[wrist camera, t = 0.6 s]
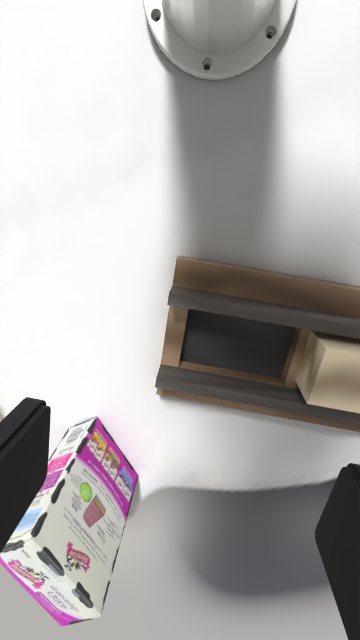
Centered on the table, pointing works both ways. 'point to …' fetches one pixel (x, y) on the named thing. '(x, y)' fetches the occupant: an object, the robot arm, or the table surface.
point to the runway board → (251, 338)
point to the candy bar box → (74, 526)
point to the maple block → (331, 372)
